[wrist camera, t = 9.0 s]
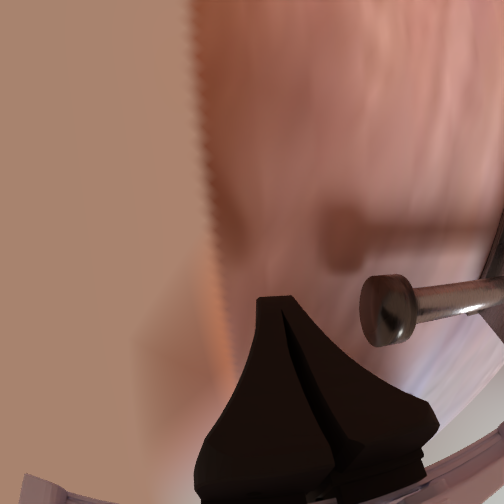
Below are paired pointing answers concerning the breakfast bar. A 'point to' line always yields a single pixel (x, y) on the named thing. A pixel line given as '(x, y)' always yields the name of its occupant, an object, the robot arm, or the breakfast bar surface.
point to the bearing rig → (498, 264)
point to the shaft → (419, 304)
